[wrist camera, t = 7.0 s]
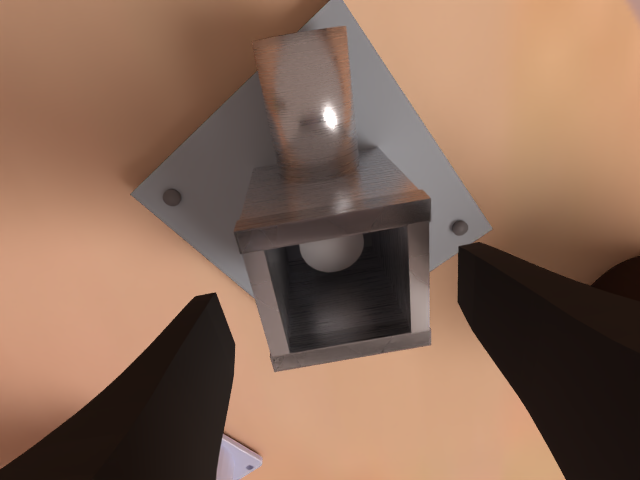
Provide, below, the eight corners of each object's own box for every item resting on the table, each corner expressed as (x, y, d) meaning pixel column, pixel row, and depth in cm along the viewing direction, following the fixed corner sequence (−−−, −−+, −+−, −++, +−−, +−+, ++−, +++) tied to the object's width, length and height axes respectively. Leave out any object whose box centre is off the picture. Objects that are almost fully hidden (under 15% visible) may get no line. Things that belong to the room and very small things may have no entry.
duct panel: (314, 336, 21) (320, 395, 17) (138, 186, 16) (96, 225, 12) (482, 220, 18) (530, 261, 15) (334, -4, 13) (352, -24, 10)
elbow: (386, 255, 17) (431, 345, 12) (277, 273, 17) (274, 372, 12) (371, 23, 13) (430, 5, 8) (223, 48, 13) (179, 46, 7)
